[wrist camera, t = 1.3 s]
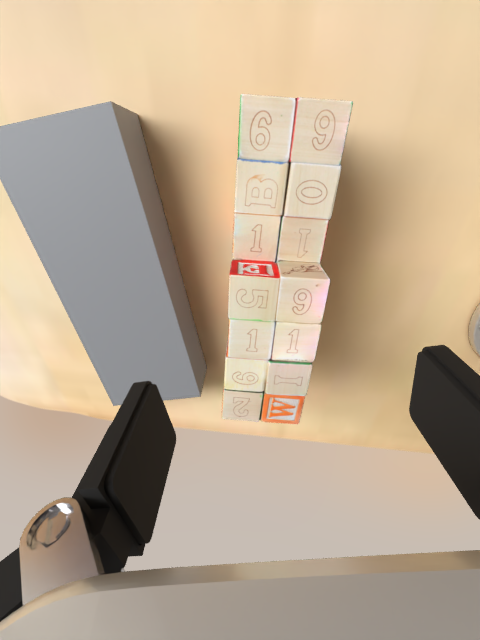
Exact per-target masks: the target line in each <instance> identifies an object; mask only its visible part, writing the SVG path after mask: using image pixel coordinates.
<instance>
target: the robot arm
mask: <svg viewBox="0 0 480 640" xmlns="http://www.w3.org/2000/svg"><path fill="white" fill-rule="evenodd" d="M468 336H469V341H470V344H471V346H472V348H473V350H474V351H475V352H476V353H477V354H478V355H479V356H480V303H479V305H478V306H477V308H476V309H475V311H474V313H473V315H472V318H471V321H470V325H469V334H468ZM409 411H410V416H411V418H412V420H413V421H414V423H415V424H416V426H417V427H418V429H419V431H420V432H421V434H422V435H423V437H424V438H425V440H426V441H427V443H428V444H429V446H430V447H431V449H432V450H433V452H434V453H435V455H436V456H437V458H438V459H439V461H440V462H441V464H442V465H443V467H444V468H445V470H446V471H447V473H448V474H449V476H450V477H451V479H452V480H453V482H454V483H455V485H456V487H457V488H458V489H459V491H460V492H461V494H462V496H463V497H464V498H465V500H466V501H467V503H468V505H469V506H470V508H471V509H472V511H473V512H474V514H475V515H476V516H477V517H478V519H480V376H479V375H478V374H477V373H476V372H475V371H474V370H473V369H471V368H470V367H469V366H468V365H467V364H466V363H465V362H464V361H462V360H461V359H460V358H459V357H458V356H457V355H456V354H455V353H453V352H452V351H451V350H450V349H449V348H448V347H446V346H445V345H438V346H430V347H425V348H423V350H422V352H419V353H418V355H417V362H416V368H415V375H414V381H413V388H412V395H411V401H410V408H409ZM175 444H176V434H175V431H174V428H173V426H172V423H171V421H170V418H169V415H168V413H167V410H166V408H165V405H164V403H163V400H162V398H161V395H160V393H159V390H158V387H157V385H156V384H152V382H151V381H143V382H135V383H133V385H132V386H131V388H130V390H129V392H128V394H127V396H126V398H125V399H124V401H123V403H122V405H121V407H120V409H119V411H118V413H117V415H116V417H115V418H114V420H113V422H112V424H111V425H110V427H109V428H108V430H107V432H106V434H105V436H104V438H103V440H102V441H101V443H100V445H99V447H98V449H97V451H96V453H95V455H94V457H93V459H92V460H91V462H90V464H89V466H88V468H87V470H86V472H85V474H84V476H83V478H82V479H81V481H80V483H79V485H78V487H77V489H76V491H75V493H74V494H73V496H72V498H69V497H64V498H61V499H58V500H55V501H53V502H51V503H49V504H48V505H46V506H45V507H44V508H42V509H41V510H40V511H39V512H38V513H37V514H36V515H35V516H34V517H33V518H32V519H31V520H30V522H29V523H28V525H27V526H26V528H25V529H24V531H23V534H22V536H21V538H20V545H19V548H18V549H16V550H15V551H14V552H12V553H11V554H10V555H9V556H7V557H6V558H5V559H3V560H2V561H1V562H0V640H480V550H473V551H454V552H435V553H416V554H396V555H377V556H360V557H341V558H325V559H324V558H323V559H306V560H288V561H271V562H255V563H239V564H223V565H207V566H191V567H175V568H163V569H152V570H139V571H127V572H125V571H124V566H125V564H126V561H127V558H128V556H142V555H143V551H144V547H145V543H149V542H150V540H151V537H152V533H153V529H154V526H155V522H156V518H157V514H158V510H159V506H160V502H161V499H162V495H163V491H164V487H165V483H166V479H167V474H168V471H169V467H170V463H171V459H172V455H173V451H174V447H175Z"/></svg>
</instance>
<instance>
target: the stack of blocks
mask: <svg viewBox="0 0 480 640" xmlns="http://www.w3.org/2000/svg"><path fill="white" fill-rule="evenodd" d="M352 105H353V101H342V100H329V99H316V98H303V97H299V98H288V97H278V96H262V95H251V94H241V97H240V116H239V137H238V159H237V167H236V189H235V212H234V227H233V260H232V262H231V268H230V274H229V301H228V318H229V332H228V340H227V349H226V357H225V376H224V389H223V403H222V418H223V419H231V420H244V421H254V422H258V421H259V420H261V421H262V422H271V423H288V424H299V422H300V417H301V413H302V408H303V404H304V399H305V396H306V395H307V391H308V386H309V381H310V376H311V371H312V362H313V361H314V360H315V356H316V352H317V347H318V342H319V337H320V332H321V322H322V320H323V315H324V310H325V305H326V300H327V296H328V290H329V285H330V279H329V277H328V276H327V274H326V273H325V271H324V270H323V268H322V266H321V265H320V262H321V258H322V253H323V248H324V243H325V238H326V234H327V229H328V224H329V220H330V219H331V216H332V211H333V207H334V202H335V198H336V193H337V188H338V183H339V178H340V173H341V168H342V167H341V165H340V162H341V158H342V154H343V149H344V144H345V139H346V135H347V130H348V125H349V120H350V115H351V110H352Z"/></svg>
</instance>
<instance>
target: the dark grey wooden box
mask: <svg viewBox="0 0 480 640" xmlns="http://www.w3.org/2000/svg"><path fill="white" fill-rule="evenodd" d="M0 180H1V182H2V184H3V186H4V188H5V190H6V192H7V194H8V196H9V198H10V200H11V202H12V204H13V206H14V208H15V210H16V212H17V214H18V216H19V218H20V220H21V222H22V224H23V226H24V228H25V230H26V232H27V234H28V236H29V238H30V240H31V242H32V244H33V246H34V248H35V250H36V252H37V254H38V256H39V258H40V260H41V262H42V264H43V266H44V268H45V270H46V272H47V274H48V276H49V278H50V280H51V282H52V284H53V286H54V288H55V290H56V292H57V294H58V296H59V298H60V300H61V302H62V304H63V306H64V308H65V310H66V312H67V314H68V316H69V318H70V320H71V322H72V324H73V326H74V328H75V330H76V332H77V334H78V336H79V338H80V340H81V342H82V344H83V346H84V348H85V350H86V352H87V354H88V356H89V358H90V360H91V362H92V364H93V366H94V368H95V370H96V372H97V374H98V376H99V378H100V380H101V382H102V384H103V386H104V388H105V390H106V392H107V394H108V396H109V398H110V400H111V402H112V404H113V406H115V405H122V403H123V401H124V399H125V398H126V396H127V394H128V392H129V390H130V388H131V386H132V385H133V383H135V382H143V381H151V382H152V384H156V385H157V387H158V390H159V393H160V395H161V398H162V400H172V399H182V398H191V397H201V392H202V388H203V383H204V378H205V374H206V369H207V367H206V363H205V360H204V356H203V352H202V349H201V345H200V341H199V338H198V334H197V330H196V327H195V323H194V319H193V316H192V312H191V308H190V305H189V301H188V297H187V294H186V290H185V286H184V283H183V279H182V276H181V272H180V268H179V265H178V261H177V257H176V254H175V250H174V246H173V243H172V239H171V235H170V232H169V228H168V224H167V221H166V217H165V213H164V210H163V206H162V203H161V199H160V195H159V192H158V188H157V184H156V181H155V177H154V173H153V170H152V166H151V162H150V159H149V155H148V151H147V148H146V144H145V140H144V137H143V133H142V130H141V126H140V122H139V119H138V115H137V114H136V113H134V112H132V111H130V110H128V109H125V108H123V107H121V106H119V105H117V104H115V103H113V102H111V101H110V102H106V103H101V104H97V105H92V106H88V107H84V108H79V109H75V110H70V111H66V112H61V113H57V114H53V115H48V116H44V117H39V118H35V119H31V120H26V121H22V122H17V123H13V124H8V125H4V126H0Z"/></svg>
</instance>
